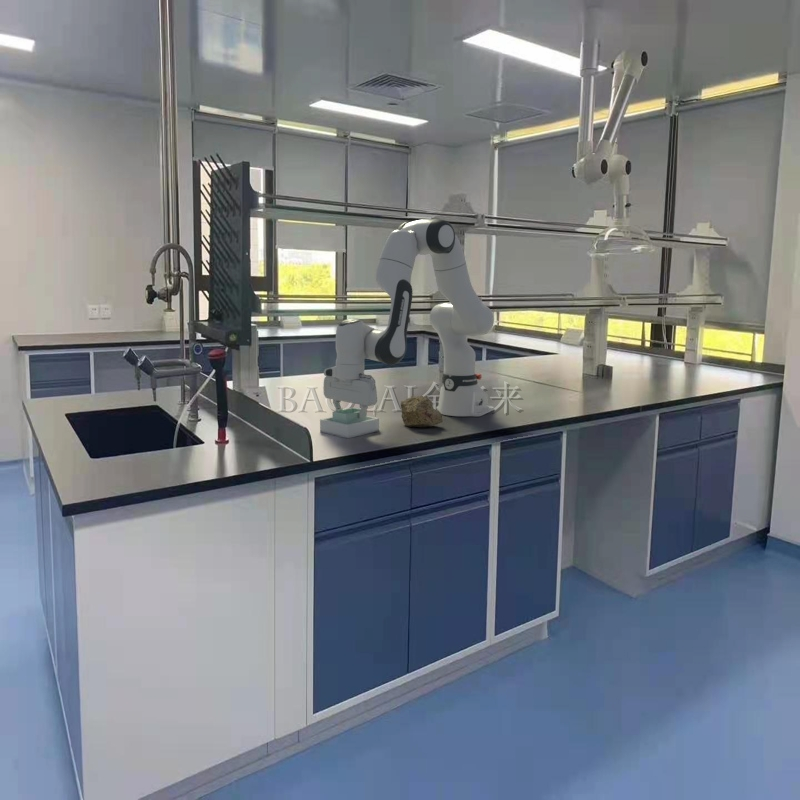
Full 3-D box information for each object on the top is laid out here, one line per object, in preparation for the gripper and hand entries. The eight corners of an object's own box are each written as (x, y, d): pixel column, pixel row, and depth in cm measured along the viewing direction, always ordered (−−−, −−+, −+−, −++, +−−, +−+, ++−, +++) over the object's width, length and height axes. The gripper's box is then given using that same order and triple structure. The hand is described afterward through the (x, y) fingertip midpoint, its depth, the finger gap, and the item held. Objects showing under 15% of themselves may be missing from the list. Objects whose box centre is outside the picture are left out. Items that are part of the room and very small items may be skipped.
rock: (409, 413, 208) (430, 393, 211) (388, 409, 218) (409, 391, 222) (425, 439, 212) (446, 420, 216) (404, 434, 222) (424, 416, 226)
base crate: (351, 424, 217) (351, 412, 216) (379, 430, 209) (379, 418, 208) (320, 432, 206) (320, 419, 206) (347, 438, 199) (347, 425, 198)
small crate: (352, 425, 213) (352, 407, 212) (366, 428, 209) (366, 410, 208) (332, 430, 206) (332, 411, 205) (346, 433, 202) (346, 414, 201)
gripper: (382, 374, 200) (381, 419, 203) (334, 367, 213) (334, 410, 216) (367, 377, 195) (367, 422, 198) (319, 369, 208) (320, 412, 211)
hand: (349, 416), depth 207 cm, fingers open, 8 cm apart
